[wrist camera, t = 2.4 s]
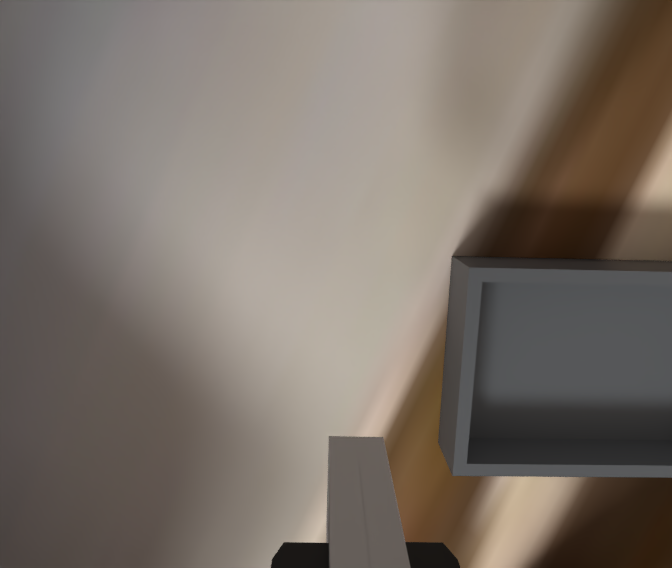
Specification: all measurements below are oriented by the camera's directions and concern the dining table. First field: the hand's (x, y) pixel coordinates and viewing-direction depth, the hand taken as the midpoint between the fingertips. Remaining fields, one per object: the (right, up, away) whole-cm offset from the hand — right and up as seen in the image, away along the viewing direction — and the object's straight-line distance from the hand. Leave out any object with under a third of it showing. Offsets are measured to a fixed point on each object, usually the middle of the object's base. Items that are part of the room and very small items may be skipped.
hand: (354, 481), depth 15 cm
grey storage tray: (+12, +2, +12) cm, 17 cm away
